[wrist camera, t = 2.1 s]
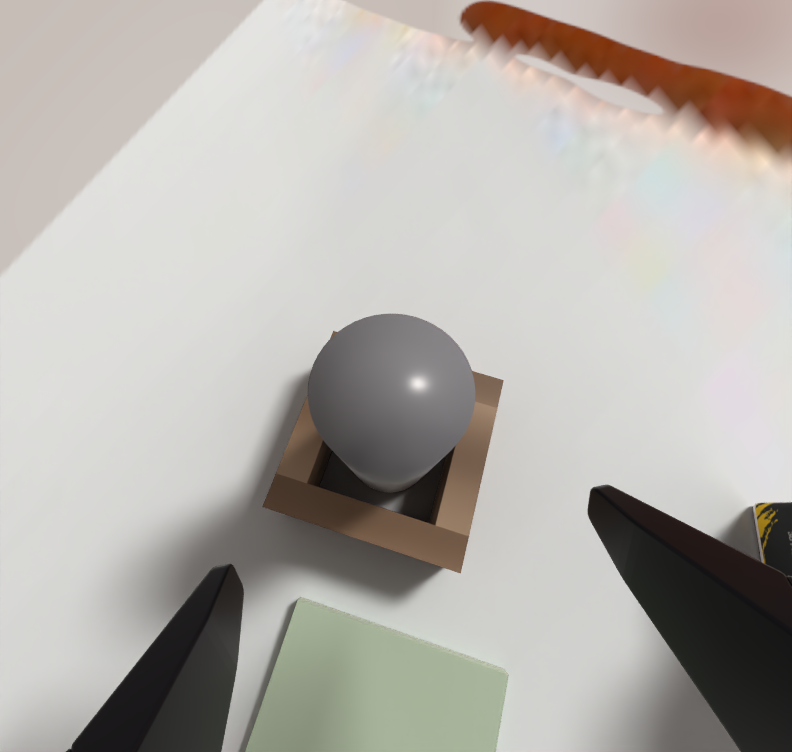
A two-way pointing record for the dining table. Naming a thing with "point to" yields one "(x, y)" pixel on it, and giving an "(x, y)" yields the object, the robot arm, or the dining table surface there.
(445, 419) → the plug
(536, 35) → the dining table surface
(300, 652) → the green mat
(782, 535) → the medicine bottle
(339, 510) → the walnut collar
